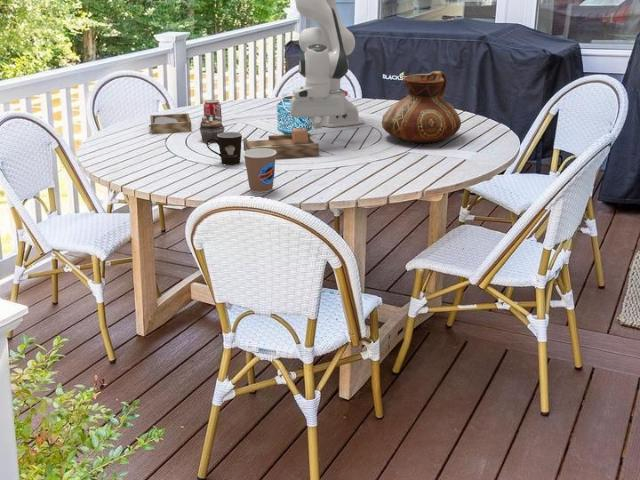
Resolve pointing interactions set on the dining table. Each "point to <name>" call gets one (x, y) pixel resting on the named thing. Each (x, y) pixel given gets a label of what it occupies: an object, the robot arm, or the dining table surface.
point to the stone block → (164, 120)
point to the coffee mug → (228, 147)
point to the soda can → (212, 108)
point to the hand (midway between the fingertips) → (317, 128)
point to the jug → (422, 112)
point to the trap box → (285, 146)
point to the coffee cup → (260, 169)
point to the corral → (171, 124)
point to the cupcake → (211, 127)
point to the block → (299, 135)
